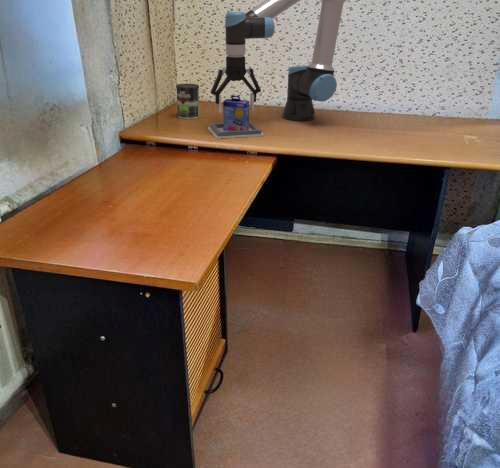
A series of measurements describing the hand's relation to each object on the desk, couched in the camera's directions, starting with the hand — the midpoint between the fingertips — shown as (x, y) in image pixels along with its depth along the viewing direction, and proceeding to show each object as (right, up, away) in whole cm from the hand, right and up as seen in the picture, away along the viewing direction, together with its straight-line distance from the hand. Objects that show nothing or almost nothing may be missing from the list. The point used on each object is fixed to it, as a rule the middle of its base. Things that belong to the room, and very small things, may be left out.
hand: (236, 111), depth 195 cm
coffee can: (-23, +4, +28) cm, 36 cm away
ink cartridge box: (0, -7, +4) cm, 8 cm away
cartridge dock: (0, -8, +4) cm, 9 cm away
